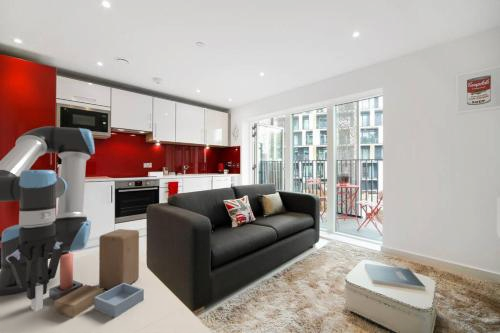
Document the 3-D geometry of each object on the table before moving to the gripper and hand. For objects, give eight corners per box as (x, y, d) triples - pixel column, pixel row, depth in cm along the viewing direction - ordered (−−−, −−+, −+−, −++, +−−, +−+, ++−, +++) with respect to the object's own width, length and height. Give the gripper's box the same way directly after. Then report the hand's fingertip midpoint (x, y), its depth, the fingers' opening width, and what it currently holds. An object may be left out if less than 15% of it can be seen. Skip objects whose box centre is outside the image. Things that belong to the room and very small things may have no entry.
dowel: (57, 296, 79) (57, 256, 79) (69, 291, 82) (69, 252, 82) (63, 298, 78) (63, 258, 78) (75, 293, 81) (75, 254, 81)
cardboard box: (54, 313, 70) (54, 300, 70) (85, 296, 80) (85, 284, 80) (73, 318, 68) (73, 305, 68) (103, 299, 78) (103, 288, 78)
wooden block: (121, 292, 82) (121, 237, 82) (97, 289, 84) (98, 235, 84) (139, 279, 92) (140, 229, 92) (118, 276, 94) (118, 228, 94)
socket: (49, 297, 78) (49, 288, 78) (71, 287, 85) (71, 279, 85) (60, 302, 75) (60, 293, 75) (83, 292, 82) (83, 283, 82)
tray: (94, 308, 72) (94, 297, 72) (123, 292, 82) (123, 282, 82) (115, 317, 68) (115, 305, 68) (143, 299, 77) (143, 289, 77)
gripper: (12, 231, 57) (11, 326, 56) (71, 220, 68) (70, 299, 68) (-1, 228, 60) (-2, 318, 59) (58, 218, 72) (57, 293, 71)
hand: (37, 308), depth 64 cm, fingers closed
